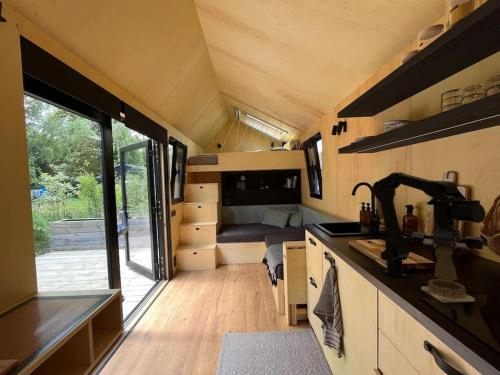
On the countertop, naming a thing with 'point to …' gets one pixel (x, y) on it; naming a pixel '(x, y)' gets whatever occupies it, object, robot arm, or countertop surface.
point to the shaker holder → (447, 291)
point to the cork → (445, 263)
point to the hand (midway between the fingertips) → (445, 265)
